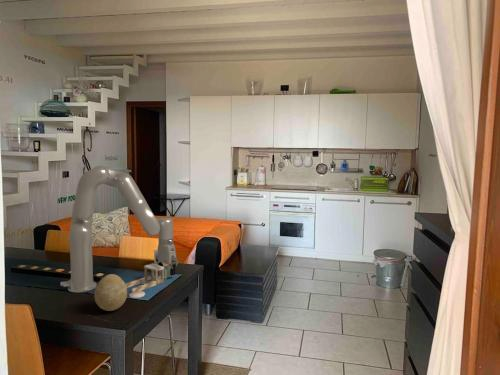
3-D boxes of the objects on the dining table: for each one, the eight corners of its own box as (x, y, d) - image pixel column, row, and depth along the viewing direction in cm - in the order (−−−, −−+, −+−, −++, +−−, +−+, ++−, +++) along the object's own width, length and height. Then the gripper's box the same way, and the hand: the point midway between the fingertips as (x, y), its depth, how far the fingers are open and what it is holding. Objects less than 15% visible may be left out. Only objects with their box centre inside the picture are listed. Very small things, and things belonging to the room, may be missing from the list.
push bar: (144, 285, 178) (144, 281, 178) (140, 284, 180) (140, 279, 180) (163, 279, 188) (163, 274, 187) (159, 277, 190) (159, 273, 190)
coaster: (130, 299, 161) (130, 297, 161) (127, 293, 167) (127, 292, 167) (146, 296, 164) (146, 295, 164) (143, 291, 170) (143, 290, 170)
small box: (163, 269, 202) (163, 251, 201) (154, 268, 203) (153, 250, 202) (169, 265, 210) (169, 247, 209) (160, 264, 211) (160, 246, 210)
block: (165, 279, 187) (165, 269, 187) (159, 277, 190) (159, 267, 189) (172, 276, 191) (172, 267, 191) (166, 274, 194) (166, 265, 194)
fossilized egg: (133, 304, 156) (132, 270, 154) (117, 317, 143) (116, 281, 142) (105, 302, 158) (104, 268, 156) (88, 314, 145) (87, 278, 144)
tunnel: (132, 293, 167) (132, 276, 167) (121, 288, 173) (121, 272, 172) (164, 282, 182) (163, 266, 181) (152, 278, 187) (152, 263, 187)
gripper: (182, 242, 186) (183, 274, 188) (160, 237, 196) (161, 268, 198) (171, 245, 180) (172, 278, 182) (149, 240, 190) (150, 271, 192)
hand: (166, 273), depth 190 cm, fingers open, 9 cm apart
